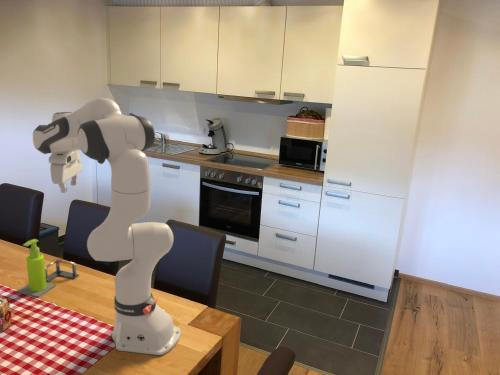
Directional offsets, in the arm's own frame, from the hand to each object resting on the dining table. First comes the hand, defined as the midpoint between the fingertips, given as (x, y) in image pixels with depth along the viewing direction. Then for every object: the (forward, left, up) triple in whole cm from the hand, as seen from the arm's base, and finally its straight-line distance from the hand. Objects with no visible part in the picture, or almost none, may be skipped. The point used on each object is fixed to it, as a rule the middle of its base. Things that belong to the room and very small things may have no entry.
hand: (69, 188), depth 164 cm
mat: (+5, +16, -37) cm, 41 cm away
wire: (+2, +6, -37) cm, 38 cm away
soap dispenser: (+4, +16, -37) cm, 40 cm away
